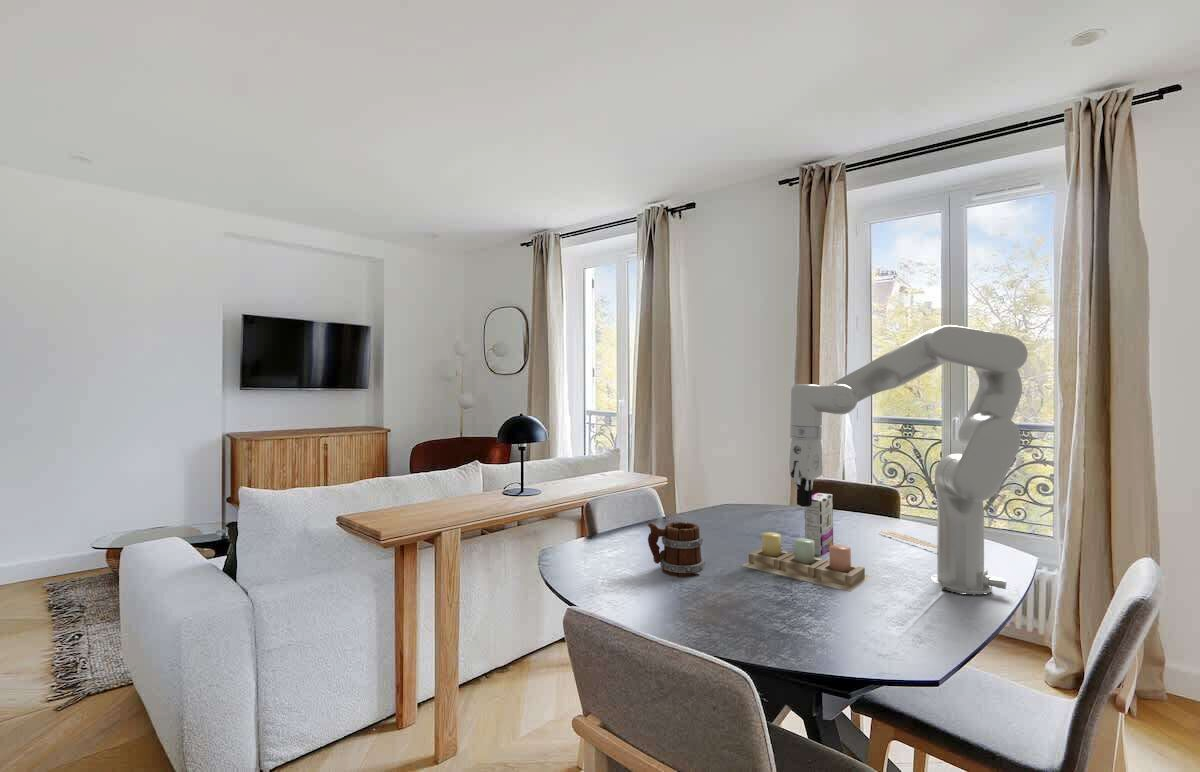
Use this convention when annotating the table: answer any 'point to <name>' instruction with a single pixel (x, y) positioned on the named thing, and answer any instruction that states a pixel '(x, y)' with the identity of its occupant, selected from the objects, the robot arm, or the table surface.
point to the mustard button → (771, 544)
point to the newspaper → (908, 538)
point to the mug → (677, 548)
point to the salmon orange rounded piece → (840, 557)
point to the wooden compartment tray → (807, 570)
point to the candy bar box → (820, 522)
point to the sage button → (804, 550)
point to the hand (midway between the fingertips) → (804, 505)
